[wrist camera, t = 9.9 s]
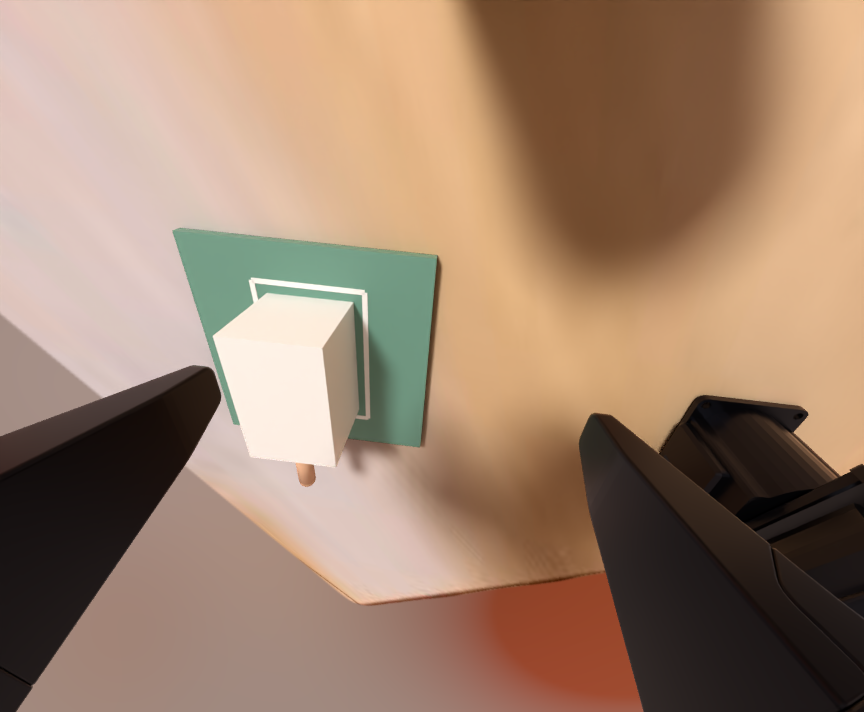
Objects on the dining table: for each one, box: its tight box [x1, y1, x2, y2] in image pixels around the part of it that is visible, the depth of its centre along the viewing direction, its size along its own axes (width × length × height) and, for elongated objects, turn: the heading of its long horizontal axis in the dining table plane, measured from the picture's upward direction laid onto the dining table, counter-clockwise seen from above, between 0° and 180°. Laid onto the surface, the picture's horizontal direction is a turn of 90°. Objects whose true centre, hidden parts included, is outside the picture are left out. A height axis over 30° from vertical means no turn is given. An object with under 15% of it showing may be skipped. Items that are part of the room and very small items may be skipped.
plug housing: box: [213, 293, 359, 487], centre depth 21 cm, size 5×12×5 cm, turn 176°
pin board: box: [172, 228, 437, 447], centre depth 21 cm, size 14×14×3 cm
